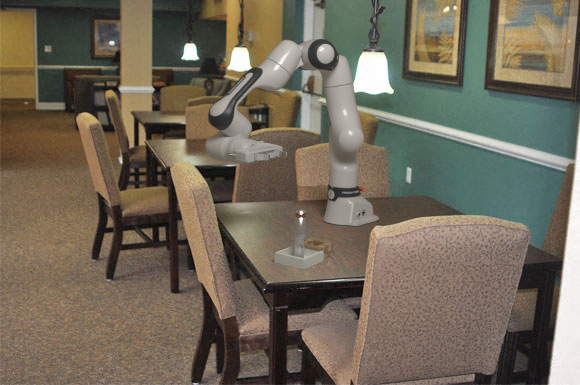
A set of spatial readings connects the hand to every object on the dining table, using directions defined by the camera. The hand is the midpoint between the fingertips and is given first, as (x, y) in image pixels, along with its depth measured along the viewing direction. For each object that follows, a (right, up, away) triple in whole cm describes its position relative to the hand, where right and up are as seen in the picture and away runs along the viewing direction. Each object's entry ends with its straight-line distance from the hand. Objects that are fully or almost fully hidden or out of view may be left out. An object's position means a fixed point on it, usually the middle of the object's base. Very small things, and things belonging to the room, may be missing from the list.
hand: (277, 156), depth 219 cm
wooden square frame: (+12, -32, -6) cm, 35 cm away
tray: (+7, -34, -13) cm, 37 cm away
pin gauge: (+7, -33, -13) cm, 36 cm away
